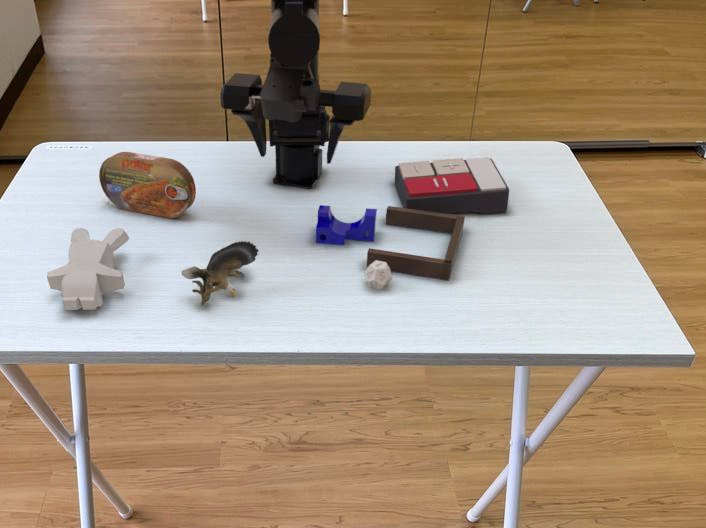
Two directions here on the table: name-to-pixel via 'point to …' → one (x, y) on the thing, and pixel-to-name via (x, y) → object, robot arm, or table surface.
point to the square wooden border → (414, 262)
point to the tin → (147, 184)
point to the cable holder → (344, 227)
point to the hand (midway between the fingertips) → (296, 159)
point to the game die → (378, 274)
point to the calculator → (452, 186)
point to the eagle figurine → (222, 269)
